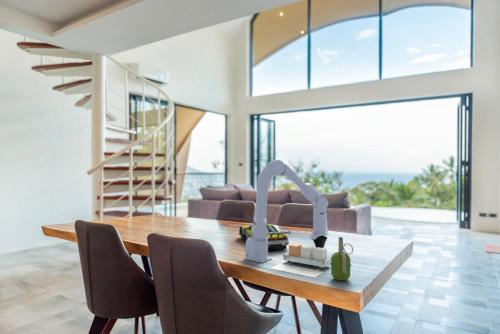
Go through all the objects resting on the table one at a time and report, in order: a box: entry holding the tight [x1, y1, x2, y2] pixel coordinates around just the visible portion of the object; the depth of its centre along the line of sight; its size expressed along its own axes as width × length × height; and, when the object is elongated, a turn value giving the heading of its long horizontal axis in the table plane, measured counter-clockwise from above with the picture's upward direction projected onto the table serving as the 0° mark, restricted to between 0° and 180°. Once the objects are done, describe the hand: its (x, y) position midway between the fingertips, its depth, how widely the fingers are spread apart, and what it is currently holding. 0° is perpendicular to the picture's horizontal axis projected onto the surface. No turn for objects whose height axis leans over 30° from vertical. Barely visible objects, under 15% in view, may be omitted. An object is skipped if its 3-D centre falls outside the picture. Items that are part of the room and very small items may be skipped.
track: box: [270, 261, 324, 279], centre depth 129 cm, size 19×18×1 cm
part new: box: [288, 243, 303, 257], centre depth 136 cm, size 4×4×5 cm
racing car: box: [238, 223, 292, 251], centre depth 172 cm, size 17×39×12 cm, turn 18°
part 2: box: [313, 247, 328, 261], centre depth 129 cm, size 4×4×5 cm
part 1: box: [301, 244, 315, 259], centre depth 133 cm, size 4×4×5 cm
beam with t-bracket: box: [282, 252, 331, 270], centre depth 135 cm, size 18×14×3 cm
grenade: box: [329, 236, 354, 282], centre depth 114 cm, size 7×8×15 cm
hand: (319, 253), depth 143 cm, fingers closed
